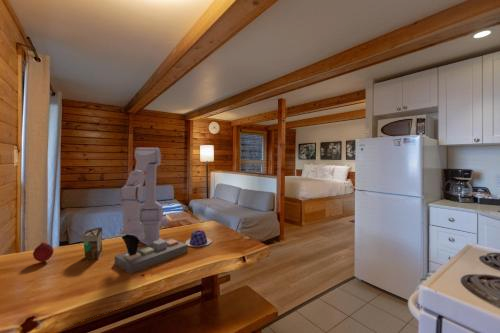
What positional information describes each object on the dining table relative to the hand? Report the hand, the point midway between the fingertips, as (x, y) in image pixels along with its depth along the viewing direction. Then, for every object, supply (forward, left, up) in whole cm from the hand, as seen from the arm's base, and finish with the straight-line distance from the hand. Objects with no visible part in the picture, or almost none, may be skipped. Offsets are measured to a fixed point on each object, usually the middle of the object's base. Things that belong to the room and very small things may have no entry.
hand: (132, 254), depth 89 cm
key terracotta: (0, +16, -3) cm, 17 cm away
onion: (-28, -20, -4) cm, 34 cm away
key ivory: (0, 0, -3) cm, 3 cm away
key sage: (0, +5, -3) cm, 6 cm away
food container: (-20, -7, -4) cm, 22 cm away
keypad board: (0, +8, -4) cm, 9 cm away
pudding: (+1, +30, -4) cm, 30 cm away
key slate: (0, +11, -2) cm, 11 cm away
